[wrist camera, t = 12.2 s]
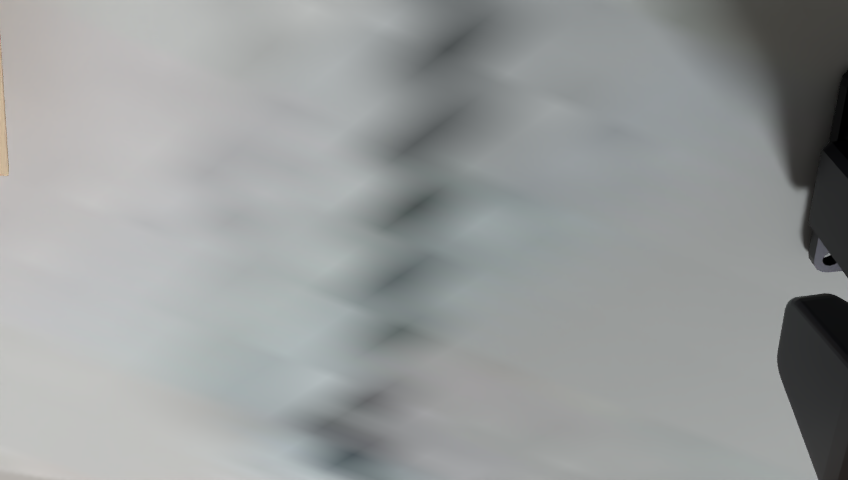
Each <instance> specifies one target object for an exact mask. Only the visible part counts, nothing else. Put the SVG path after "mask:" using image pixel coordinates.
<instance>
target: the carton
mask: <svg viewBox="0 0 848 480" xmlns="http://www.w3.org/2000/svg"><path fill="white" fill-rule="evenodd" d="M8 174H9V164H8V148H7V132H6V116H5V100H4V84H3V68H2V52H1V36H0V176H8Z"/></svg>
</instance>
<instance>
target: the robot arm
mask: <svg viewBox="0 0 848 480" xmlns="http://www.w3.org/2000/svg"><path fill="white" fill-rule="evenodd" d="M809 225H810V227H811V228H812V229H813V231H812V236H811V242H810V247H809V259H810V260H811V261H812V263H813V264H814V266H815V267H816V269H817V270H819V271H822V272H834V271H843V272H844V273H845V275H846V276H847V278H848V70H847V72H846V73H845V74H844V75H843V77H842V79H841V82H840V86H839V92H838V97H837V102H836V108H835V113H834V119H833V124H832V129H831V135H830V140H829V142H828V143H827V144H826V146H825V147H824V148H823V150H822V151H821V155H820V161H819V166H818V172H817V178H816V183H815V189H814V194H813V200H812V205H811V211H810V216H809ZM828 253H830V254H831V255H830V256H828V257H825V258H824V256H825V255H827V254H828ZM777 363H778V369H779V374H780V377H781V380H782V383H783V385H784V388H785V391H786V393H787V396H788V399H789V402H790V404H791V407H792V410H793V412H794V415H795V418H796V420H797V423H798V426H799V429H800V431H801V434H802V437H803V439H804V442H805V445H806V448H807V450H808V453H809V456H810V458H811V461H812V464H813V466H814V469H815V472H816V475H817V477H818V480H848V302H846V301H845V300H843V299H841V298H839V297H837V296H835V295H832V294H825V293H824V294H817V295H809V296H801V297H795V298H793V299H791V300H790V301H789V302H788V304H787V305H786V308H785V313H784V318H783V324H782V330H781V336H780V341H779V347H778V354H777Z"/></svg>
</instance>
